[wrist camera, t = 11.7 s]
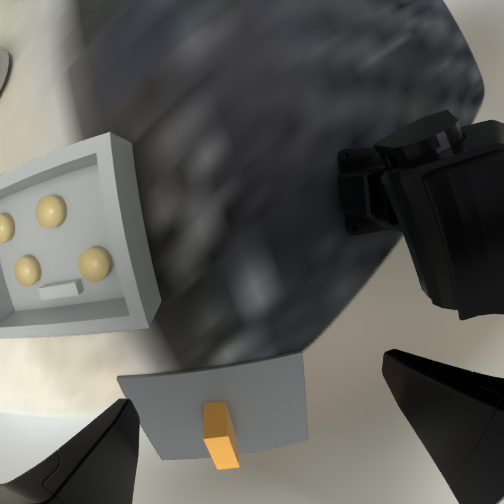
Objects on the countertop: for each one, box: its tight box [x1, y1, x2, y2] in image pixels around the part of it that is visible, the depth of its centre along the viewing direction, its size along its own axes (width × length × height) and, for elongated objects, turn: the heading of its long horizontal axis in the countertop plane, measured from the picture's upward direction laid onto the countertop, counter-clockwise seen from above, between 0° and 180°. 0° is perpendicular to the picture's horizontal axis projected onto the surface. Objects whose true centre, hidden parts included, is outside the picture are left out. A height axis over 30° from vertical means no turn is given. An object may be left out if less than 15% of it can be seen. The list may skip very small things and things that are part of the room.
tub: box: [0, 132, 162, 339], centre depth 17 cm, size 16×12×4 cm
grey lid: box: [117, 350, 308, 470], centre depth 22 cm, size 17×13×6 cm
